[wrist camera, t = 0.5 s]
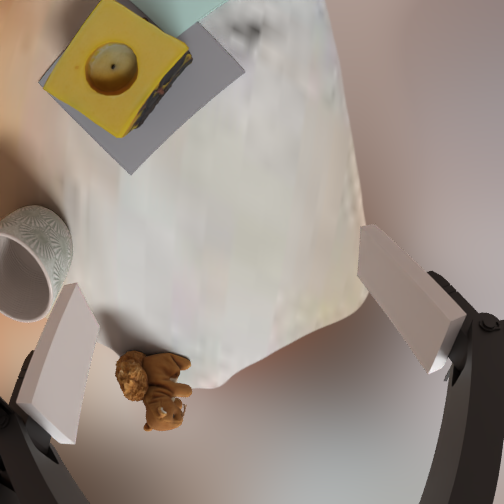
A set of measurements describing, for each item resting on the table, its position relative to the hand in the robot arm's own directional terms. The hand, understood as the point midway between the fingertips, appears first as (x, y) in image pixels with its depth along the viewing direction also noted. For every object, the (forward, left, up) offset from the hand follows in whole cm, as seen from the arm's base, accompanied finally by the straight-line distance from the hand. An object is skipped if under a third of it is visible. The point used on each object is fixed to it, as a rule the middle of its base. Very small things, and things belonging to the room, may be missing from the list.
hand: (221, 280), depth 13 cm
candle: (-14, +1, -25) cm, 29 cm away
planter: (-9, -24, -26) cm, 36 cm away
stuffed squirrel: (+18, -31, -26) cm, 44 cm away
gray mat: (-14, +1, -25) cm, 29 cm away
